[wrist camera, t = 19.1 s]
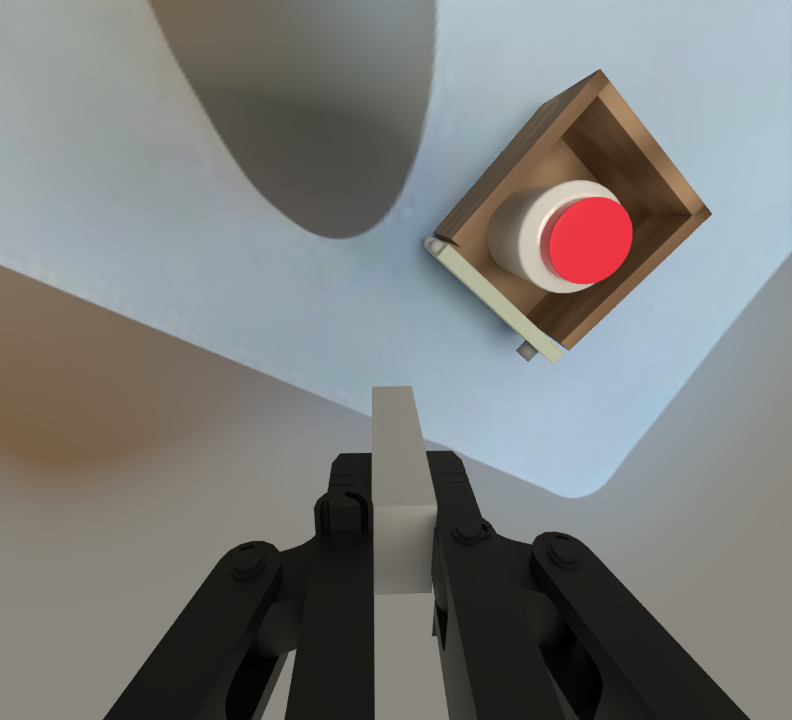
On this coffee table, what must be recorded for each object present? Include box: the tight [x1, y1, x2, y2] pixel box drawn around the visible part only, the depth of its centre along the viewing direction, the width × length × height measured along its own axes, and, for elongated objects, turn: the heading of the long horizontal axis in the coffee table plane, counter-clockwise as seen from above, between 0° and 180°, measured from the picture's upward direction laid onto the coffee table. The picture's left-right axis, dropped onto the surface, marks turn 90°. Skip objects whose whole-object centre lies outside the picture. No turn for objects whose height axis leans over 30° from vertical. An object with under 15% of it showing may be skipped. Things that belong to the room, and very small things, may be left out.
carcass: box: [434, 69, 712, 350], centre depth 33 cm, size 13×14×9 cm
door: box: [423, 236, 565, 364], centre depth 34 cm, size 13×2×9 cm, turn 49°
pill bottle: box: [487, 180, 633, 293], centre depth 31 cm, size 8×8×11 cm
